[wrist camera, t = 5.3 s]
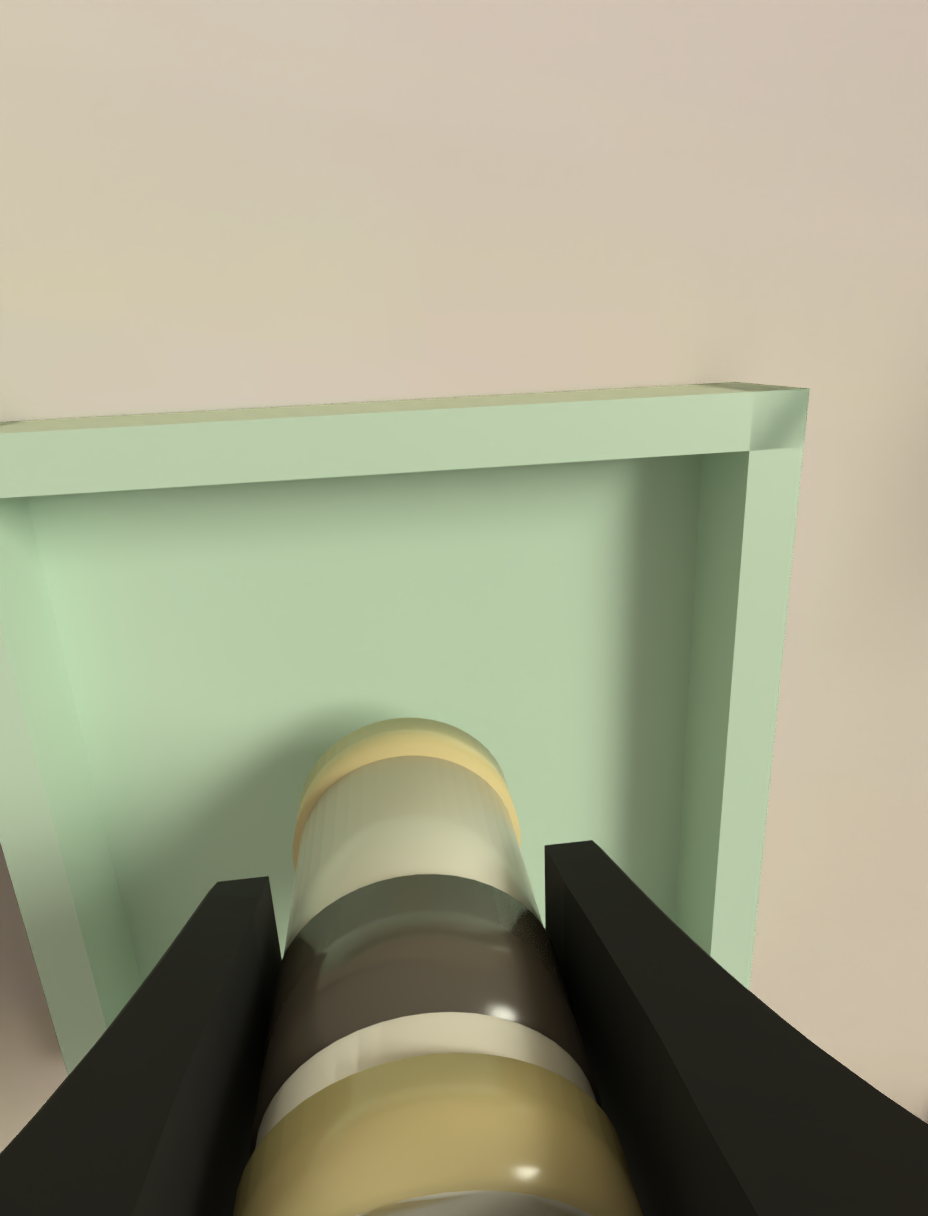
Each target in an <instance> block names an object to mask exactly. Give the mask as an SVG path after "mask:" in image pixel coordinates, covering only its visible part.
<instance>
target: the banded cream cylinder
mask: <svg viewBox="0 0 928 1216" xmlns="http://www.w3.org/2000/svg"><path fill="white" fill-rule="evenodd" d="M520 847H521V833H520V826H519V821H518V817H517V814H516V811H515V807H514V804H513V801H512V798H511V795H510V792H509V788H508V785H507V782H506V780H505V777H504V774H503V771H502V770H501V768H500V766H499V764H498V762H497V761H496V759H495V758H494V757H493V755H492V754H491V753H490V751H489V750H488V749H487V748H486V747H485V746H484V745H483V744H481V743H480V742H479V741H478V740H477V739H475V738H474V737H472V736H471V735H470V734H468V733H466V732H464V731H463V730H461V729H459V728H457V727H454V726H452V725H449V724H447V723H443V722H439V721H435V720H431V719H423V718H396V719H388V720H384V721H379V722H375V723H372V724H369V725H367V726H364V727H361V728H359V729H357V730H355V731H353V732H351V733H349V734H347V735H346V736H344V737H343V738H341V739H340V740H338V741H337V742H336V743H335V744H333V745H332V746H331V747H330V748H329V749H328V750H327V751H326V752H325V753H324V754H323V755H322V756H321V757H320V758H319V760H318V761H317V762H316V764H315V765H314V767H313V768H312V770H311V771H310V773H309V775H308V777H307V779H306V781H305V783H304V787H303V790H302V793H301V797H300V803H299V810H298V816H297V822H296V828H295V834H294V841H293V863H294V869H295V873H296V875H295V882H294V888H293V895H292V902H291V909H290V916H289V922H288V929H287V936H286V943H285V949H284V956H283V959H282V961H281V963H280V966H279V969H278V972H277V975H276V980H275V987H274V993H273V1000H272V1006H271V1013H270V1019H269V1026H268V1032H267V1039H266V1045H265V1052H264V1058H263V1065H262V1071H261V1078H260V1084H259V1090H258V1097H257V1103H256V1110H255V1116H254V1123H253V1129H252V1136H251V1142H250V1149H249V1155H250V1160H249V1161H248V1163H247V1165H246V1167H245V1169H244V1171H243V1174H242V1177H241V1180H240V1183H239V1185H238V1188H237V1193H236V1199H235V1206H234V1212H233V1216H643V1212H642V1209H641V1206H640V1203H639V1200H638V1197H637V1193H636V1190H635V1187H634V1184H633V1181H632V1178H631V1174H630V1171H629V1168H628V1165H627V1162H626V1159H625V1155H624V1152H623V1149H622V1146H621V1143H620V1141H619V1138H618V1135H617V1133H616V1130H615V1128H614V1126H613V1125H612V1123H611V1121H610V1120H609V1118H608V1116H607V1115H606V1113H605V1112H604V1111H603V1110H602V1104H601V1099H600V1094H599V1091H598V1088H597V1084H596V1081H595V1078H594V1075H593V1071H592V1068H591V1065H590V1062H589V1058H588V1055H587V1052H586V1049H585V1045H584V1042H583V1039H582V1036H581V1032H580V1029H579V1026H578V1023H577V1019H576V1016H575V1013H574V1010H573V1006H572V1003H571V1000H570V997H569V994H568V990H567V987H566V984H565V981H564V977H563V974H562V971H561V968H560V964H559V961H558V958H557V955H556V952H555V949H554V946H553V944H552V941H551V939H550V937H549V935H548V933H547V932H546V930H545V928H544V926H543V923H542V920H541V916H540V913H539V910H538V906H537V903H536V900H535V897H534V893H533V890H532V887H531V883H530V880H529V877H528V873H527V870H526V867H525V863H524V860H523V857H522V853H521V850H520Z"/></svg>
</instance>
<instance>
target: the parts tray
mask: <svg viewBox="0 0 928 1216" xmlns="http://www.w3.org/2000/svg"><path fill="white" fill-rule="evenodd" d="M809 390H810V389H808V388H797V387H786V386H775V385H764V384H753V383H741V382H730V383H712V384H693V385H675V386H656V387H638V388H620V389H601V390H583V391H564V392H546V393H527V394H509V395H490V396H472V397H453V398H435V399H417V400H398V401H380V402H361V403H343V404H324V405H306V406H287V407H269V408H251V409H232V410H214V411H195V412H177V413H158V414H140V415H121V416H103V417H85V418H66V419H48V420H29V421H11V422H0V843H1V846H2V850H3V853H4V857H5V860H6V864H7V867H8V871H9V874H10V877H11V881H12V884H13V888H14V891H15V895H16V898H17V901H18V905H19V908H20V912H21V915H22V919H23V922H24V926H25V929H26V932H27V936H28V939H29V943H30V946H31V950H32V953H33V956H34V960H35V963H36V967H37V970H38V974H39V977H40V981H41V984H42V987H43V991H44V994H45V998H46V1001H47V1005H48V1008H49V1012H50V1015H51V1018H52V1022H53V1025H54V1029H55V1032H56V1036H57V1039H58V1042H59V1046H60V1049H61V1053H62V1056H63V1060H64V1063H65V1067H66V1070H67V1073H68V1075H69V1074H70V1073H71V1072H72V1071H73V1070H74V1068H75V1067H76V1066H77V1065H78V1064H79V1062H80V1061H81V1060H82V1059H83V1058H84V1056H85V1055H86V1054H87V1053H88V1052H89V1051H90V1049H91V1048H92V1047H93V1046H94V1045H95V1043H96V1042H97V1041H98V1040H99V1038H100V1037H101V1036H102V1035H103V1033H104V1032H105V1031H106V1030H107V1028H108V1027H109V1026H110V1024H111V1023H112V1022H113V1021H114V1019H115V1018H116V1017H117V1015H118V1014H119V1013H120V1011H121V1010H122V1009H123V1008H124V1006H125V1005H126V1004H127V1002H128V1001H129V1000H130V999H131V997H132V996H133V995H134V993H135V992H136V991H137V989H138V988H139V987H140V986H141V984H142V983H143V982H144V980H145V979H146V978H147V976H148V975H149V974H150V972H151V971H152V970H153V968H154V967H155V966H156V964H157V963H158V962H159V960H160V959H161V957H162V956H163V955H164V953H165V952H166V951H167V949H168V948H169V947H170V945H171V944H172V942H173V941H174V940H175V938H176V937H177V935H178V934H179V933H180V931H181V930H182V928H183V927H184V926H185V924H186V923H187V921H188V920H189V919H190V917H191V916H192V914H193V913H194V911H195V910H196V909H197V907H198V906H199V904H200V903H201V902H202V900H203V899H204V897H205V896H206V895H207V893H208V892H209V890H210V889H211V888H212V887H213V886H214V885H215V884H216V883H217V882H220V881H229V880H238V879H247V878H256V877H265V876H269V881H270V888H271V894H272V900H273V907H274V913H275V920H276V926H277V933H278V939H279V945H280V952H281V958H282V959H283V956H284V949H285V943H286V936H287V929H288V922H289V916H290V909H291V902H292V895H293V888H294V882H295V875H296V873H295V869H294V863H293V841H294V834H295V828H296V822H297V816H298V810H299V803H300V797H301V793H302V790H303V787H304V783H305V781H306V779H307V777H308V775H309V773H310V771H311V770H312V768H313V767H314V765H315V764H316V762H317V761H318V760H319V758H320V757H321V756H322V755H323V754H324V753H325V752H326V751H327V750H328V749H329V748H330V747H331V746H332V745H333V744H335V743H336V742H337V741H338V740H340V739H341V738H343V737H344V736H346V735H347V734H349V733H351V732H353V731H355V730H357V729H359V728H361V727H364V726H367V725H369V724H372V723H375V722H379V721H384V720H388V719H396V718H423V719H431V720H435V721H439V722H443V723H447V724H449V725H452V726H454V727H457V728H459V729H461V730H463V731H464V732H466V733H468V734H470V735H471V736H472V737H474V738H475V739H477V740H478V741H479V742H480V743H481V744H483V745H484V746H485V747H486V748H487V749H488V750H489V751H490V753H491V754H492V755H493V757H494V758H495V759H496V761H497V762H498V764H499V766H500V768H501V770H502V771H503V774H504V777H505V780H506V782H507V785H508V788H509V792H510V795H511V798H512V801H513V804H514V807H515V811H516V814H517V817H518V821H519V826H520V833H521V847H520V850H521V853H522V857H523V860H524V863H525V867H526V870H527V873H528V877H529V880H530V883H531V887H532V890H533V893H534V897H535V900H536V903H537V906H538V910H539V913H540V916H541V920H542V923H543V926H544V928H545V854H544V845H552V844H561V843H570V842H579V841H588V840H593V841H594V842H595V843H596V844H597V845H598V846H600V847H601V848H602V849H603V850H604V852H605V853H606V854H607V855H608V856H609V857H610V858H611V859H612V860H613V861H614V862H615V863H616V864H617V865H618V866H619V867H620V868H621V869H622V870H623V871H624V872H625V873H626V875H627V876H628V877H629V878H630V879H631V880H632V881H633V882H634V883H635V884H636V885H637V886H638V887H639V888H640V889H641V890H642V891H643V892H644V893H645V894H646V895H647V896H648V897H649V898H650V899H651V900H652V901H653V902H654V903H655V904H656V905H657V906H658V907H659V908H660V909H661V910H662V911H663V912H664V913H665V914H666V915H667V916H668V917H669V918H670V919H671V920H672V921H673V922H674V923H675V924H676V925H677V926H679V927H680V928H681V929H682V930H683V931H684V932H685V933H686V934H687V935H688V936H689V937H690V938H691V939H692V940H694V941H695V942H696V943H697V944H698V945H699V946H700V947H701V948H702V949H703V950H704V951H705V952H707V953H708V954H709V955H710V956H711V957H712V958H713V959H714V960H715V961H716V962H717V963H718V964H719V965H721V966H722V967H723V968H724V969H725V970H726V971H727V972H728V973H730V974H731V975H732V976H733V977H734V978H735V979H736V980H738V981H739V982H740V983H741V984H742V985H743V986H744V987H746V988H747V989H748V990H749V988H750V978H751V968H752V958H753V948H754V938H755V928H756V918H757V908H758V898H759V888H760V878H761V868H762V858H763V848H764V838H765V828H766V818H767V808H768V798H769V789H770V779H771V769H772V759H773V749H774V739H775V729H776V719H777V709H778V699H779V689H780V679H781V669H782V659H783V649H784V639H785V629H786V619H787V609H788V599H789V589H790V579H791V569H792V559H793V549H794V539H795V529H796V519H797V509H798V499H799V489H800V480H801V470H802V460H803V450H804V440H805V430H806V420H807V410H808V400H809Z"/></svg>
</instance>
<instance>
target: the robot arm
mask: <svg viewBox="0 0 928 1216" xmlns="http://www.w3.org/2000/svg"><path fill="white" fill-rule="evenodd" d="M544 854H545V930H546V932H547V933H548V935H549V937H550V939H551V941H552V944H553V946H554V949H555V952H556V955H557V958H558V961H559V964H560V968H561V971H562V974H563V977H564V981H565V984H566V987H567V990H568V994H569V997H570V1000H571V1003H572V1006H573V1010H574V1013H575V1016H576V1019H577V1023H578V1026H579V1029H580V1032H581V1036H582V1039H583V1042H584V1045H585V1049H586V1052H587V1055H588V1058H589V1062H590V1065H591V1068H592V1071H593V1075H594V1078H595V1081H596V1084H597V1088H598V1091H599V1094H600V1099H601V1104H602V1110H603V1111H604V1112H605V1113H606V1115H607V1116H608V1118H609V1120H610V1121H611V1123H612V1125H613V1126H614V1128H615V1130H616V1133H617V1135H618V1138H619V1141H620V1143H621V1146H622V1149H623V1152H624V1155H625V1159H626V1162H627V1165H628V1168H629V1171H630V1174H631V1178H632V1181H633V1184H634V1187H635V1190H636V1193H637V1197H638V1200H639V1203H640V1206H641V1209H642V1212H643V1216H928V1124H927V1123H925V1122H923V1121H922V1120H921V1119H919V1118H918V1117H916V1116H915V1115H913V1114H912V1113H910V1112H909V1111H907V1110H906V1109H904V1108H903V1107H901V1106H900V1105H898V1104H897V1103H895V1102H894V1101H893V1100H891V1099H890V1098H888V1097H887V1096H885V1095H884V1094H882V1093H881V1092H879V1091H878V1090H877V1089H875V1088H874V1087H873V1086H871V1085H870V1084H869V1083H867V1082H866V1081H864V1080H863V1079H862V1078H860V1077H859V1076H858V1075H856V1074H855V1073H853V1072H852V1071H851V1070H849V1069H848V1068H847V1067H845V1066H844V1065H842V1064H841V1063H840V1062H838V1061H837V1060H836V1059H834V1058H833V1057H831V1056H830V1055H829V1054H827V1053H826V1052H825V1051H823V1050H822V1049H821V1048H819V1047H818V1046H817V1045H815V1044H814V1043H813V1042H811V1041H810V1040H809V1039H807V1038H806V1037H805V1036H804V1035H802V1034H801V1033H800V1032H799V1031H797V1030H796V1029H795V1028H794V1027H792V1026H791V1025H790V1024H789V1023H787V1022H786V1021H785V1020H784V1019H782V1018H781V1017H780V1016H779V1015H778V1014H777V1013H775V1012H774V1011H773V1010H772V1009H771V1008H769V1007H768V1006H767V1005H766V1004H765V1003H763V1002H762V1001H761V1000H760V999H759V998H757V997H756V996H755V995H754V994H753V993H751V992H750V991H749V990H748V989H747V988H746V987H744V986H743V985H742V984H741V983H740V982H739V981H738V980H736V979H735V978H734V977H733V976H732V975H731V974H730V973H728V972H727V971H726V970H725V969H724V968H723V967H722V966H721V965H719V964H718V963H717V962H716V961H715V960H714V959H713V958H712V957H711V956H710V955H709V954H708V953H707V952H705V951H704V950H703V949H702V948H701V947H700V946H699V945H698V944H697V943H696V942H695V941H694V940H692V939H691V938H690V937H689V936H688V935H687V934H686V933H685V932H684V931H683V930H682V929H681V928H680V927H679V926H677V925H676V924H675V923H674V922H673V921H672V920H671V919H670V918H669V917H668V916H667V915H666V914H665V913H664V912H663V911H662V910H661V909H660V908H659V907H658V906H657V905H656V904H655V903H654V902H653V901H652V900H651V899H650V898H649V897H648V896H647V895H646V894H645V893H644V892H643V891H642V890H641V889H640V888H639V887H638V886H637V885H636V884H635V883H634V882H633V881H632V880H631V879H630V878H629V877H628V876H627V875H626V873H625V872H624V871H623V870H622V869H621V868H620V867H619V866H618V865H617V864H616V863H615V862H614V861H613V860H612V859H611V858H610V857H609V856H608V855H607V854H606V853H605V852H604V850H603V849H602V848H601V847H600V846H598V845H597V844H596V843H595V842H594V841H593V840H588V841H579V842H570V843H561V844H552V845H544ZM281 961H282V958H281V952H280V945H279V939H278V933H277V926H276V920H275V913H274V907H273V900H272V894H271V888H270V881H269V876H265V877H256V878H247V879H238V880H229V881H220V882H217V883H216V884H215V885H214V886H213V887H212V888H211V889H210V890H209V892H208V893H207V895H206V896H205V897H204V899H203V900H202V902H201V903H200V904H199V906H198V907H197V909H196V910H195V911H194V913H193V914H192V916H191V917H190V919H189V920H188V921H187V923H186V924H185V926H184V927H183V928H182V930H181V931H180V933H179V934H178V935H177V937H176V938H175V940H174V941H173V942H172V944H171V945H170V947H169V948H168V949H167V951H166V952H165V953H164V955H163V956H162V957H161V959H160V960H159V962H158V963H157V964H156V966H155V967H154V968H153V970H152V971H151V972H150V974H149V975H148V976H147V978H146V979H145V980H144V982H143V983H142V984H141V986H140V987H139V988H138V989H137V991H136V992H135V993H134V995H133V996H132V997H131V999H130V1000H129V1001H128V1002H127V1004H126V1005H125V1006H124V1008H123V1009H122V1010H121V1011H120V1013H119V1014H118V1015H117V1017H116V1018H115V1019H114V1021H113V1022H112V1023H111V1024H110V1026H109V1027H108V1028H107V1030H106V1031H105V1032H104V1033H103V1035H102V1036H101V1037H100V1038H99V1040H98V1041H97V1042H96V1043H95V1045H94V1046H93V1047H92V1048H91V1049H90V1051H89V1052H88V1053H87V1054H86V1055H85V1056H84V1058H83V1059H82V1060H81V1061H80V1062H79V1064H78V1065H77V1066H76V1067H75V1068H74V1070H73V1071H72V1072H71V1073H70V1074H69V1075H68V1077H67V1078H66V1079H65V1080H64V1081H63V1083H62V1084H61V1085H60V1086H59V1087H58V1089H57V1090H56V1091H55V1092H54V1093H53V1094H52V1096H51V1097H50V1098H49V1099H48V1100H47V1102H46V1103H45V1104H44V1105H43V1106H42V1108H41V1109H40V1110H39V1111H38V1112H37V1113H36V1115H35V1116H34V1117H33V1118H32V1119H31V1120H30V1121H29V1122H28V1124H27V1125H26V1126H25V1127H24V1128H23V1129H22V1130H21V1131H20V1132H19V1134H18V1135H17V1136H16V1137H15V1138H14V1139H13V1140H12V1141H11V1143H10V1144H9V1145H8V1146H7V1147H6V1148H5V1149H4V1150H3V1151H2V1152H1V1154H0V1216H233V1212H234V1206H235V1199H236V1193H237V1188H238V1185H239V1183H240V1180H241V1177H242V1174H243V1171H244V1169H245V1167H246V1165H247V1163H248V1161H249V1160H250V1155H249V1149H250V1142H251V1136H252V1129H253V1123H254V1116H255V1110H256V1103H257V1097H258V1090H259V1084H260V1078H261V1071H262V1065H263V1058H264V1052H265V1045H266V1039H267V1032H268V1026H269V1019H270V1013H271V1006H272V1000H273V993H274V987H275V980H276V975H277V972H278V969H279V966H280V963H281Z"/></svg>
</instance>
